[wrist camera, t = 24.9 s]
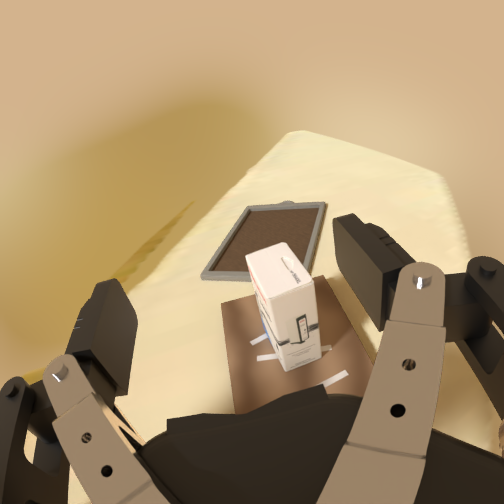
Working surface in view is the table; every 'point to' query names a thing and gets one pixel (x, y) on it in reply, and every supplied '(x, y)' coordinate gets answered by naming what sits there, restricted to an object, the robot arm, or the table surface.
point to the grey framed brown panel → (266, 237)
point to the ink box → (286, 304)
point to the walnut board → (311, 374)
